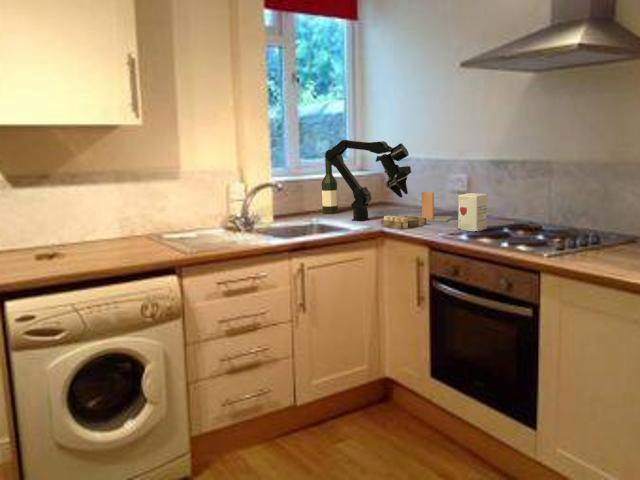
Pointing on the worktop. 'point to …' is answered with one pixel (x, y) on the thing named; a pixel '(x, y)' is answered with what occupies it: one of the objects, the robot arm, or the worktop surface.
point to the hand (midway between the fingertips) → (404, 195)
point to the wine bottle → (329, 191)
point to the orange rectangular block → (428, 205)
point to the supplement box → (472, 212)
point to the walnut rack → (399, 225)
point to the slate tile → (438, 218)
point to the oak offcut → (402, 219)
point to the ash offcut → (390, 218)
